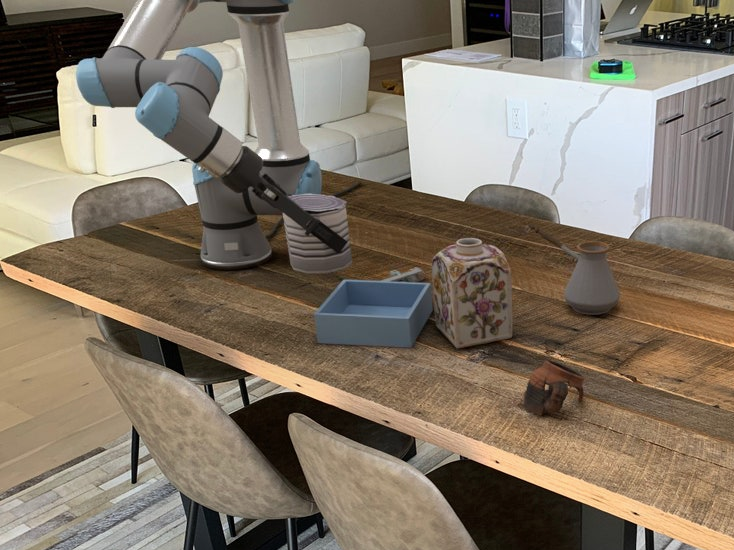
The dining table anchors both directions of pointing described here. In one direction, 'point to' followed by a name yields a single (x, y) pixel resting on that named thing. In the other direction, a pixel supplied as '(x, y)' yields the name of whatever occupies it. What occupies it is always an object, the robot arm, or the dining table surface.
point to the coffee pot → (588, 277)
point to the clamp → (407, 275)
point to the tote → (374, 313)
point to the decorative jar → (472, 293)
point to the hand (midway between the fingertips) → (333, 238)
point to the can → (309, 249)
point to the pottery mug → (551, 387)
